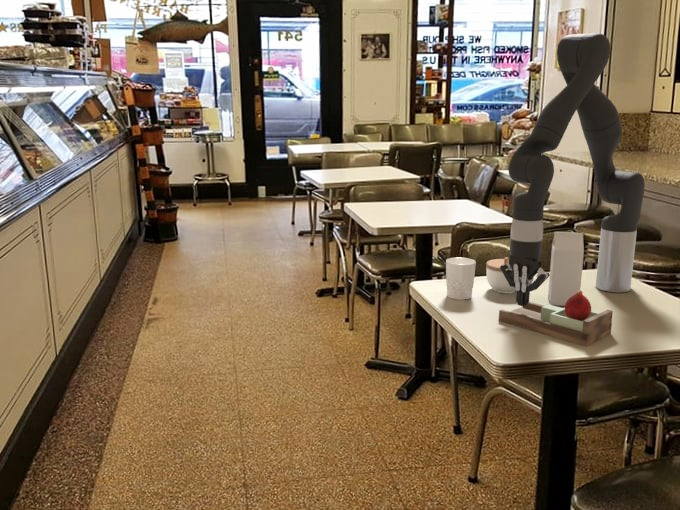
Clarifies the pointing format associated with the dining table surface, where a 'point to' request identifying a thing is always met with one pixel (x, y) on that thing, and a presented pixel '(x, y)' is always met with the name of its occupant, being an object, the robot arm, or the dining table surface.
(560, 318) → the sled
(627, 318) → the dining table surface
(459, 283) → the white cup
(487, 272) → the lidded jar
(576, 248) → the milk carton
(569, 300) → the onion
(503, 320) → the rail
